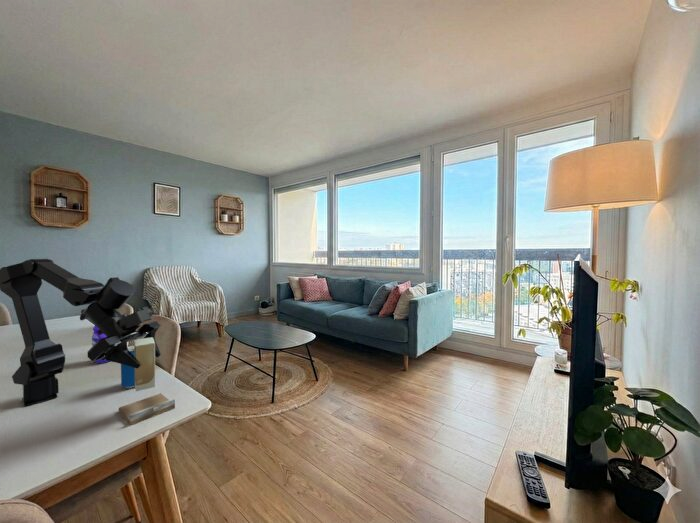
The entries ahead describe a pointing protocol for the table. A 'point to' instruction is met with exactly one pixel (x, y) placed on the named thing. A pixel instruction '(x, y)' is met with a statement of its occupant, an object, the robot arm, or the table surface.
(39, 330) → the robot arm
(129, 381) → the beverage can
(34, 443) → the table surface
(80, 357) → the table surface
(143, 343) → the skincare box
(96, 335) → the bottle
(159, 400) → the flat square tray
